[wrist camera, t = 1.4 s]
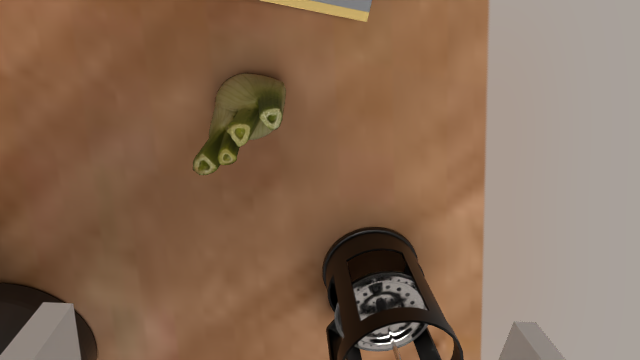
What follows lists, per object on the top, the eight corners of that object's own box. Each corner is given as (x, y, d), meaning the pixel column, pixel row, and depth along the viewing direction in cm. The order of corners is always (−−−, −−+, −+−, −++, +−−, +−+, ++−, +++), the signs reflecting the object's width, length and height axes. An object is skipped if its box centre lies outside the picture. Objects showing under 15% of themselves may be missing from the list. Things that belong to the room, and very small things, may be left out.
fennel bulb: (283, 64, 31) (281, 96, 20) (293, 125, 33) (296, 184, 22) (209, 74, 31) (166, 112, 20) (223, 135, 33) (191, 199, 22)
